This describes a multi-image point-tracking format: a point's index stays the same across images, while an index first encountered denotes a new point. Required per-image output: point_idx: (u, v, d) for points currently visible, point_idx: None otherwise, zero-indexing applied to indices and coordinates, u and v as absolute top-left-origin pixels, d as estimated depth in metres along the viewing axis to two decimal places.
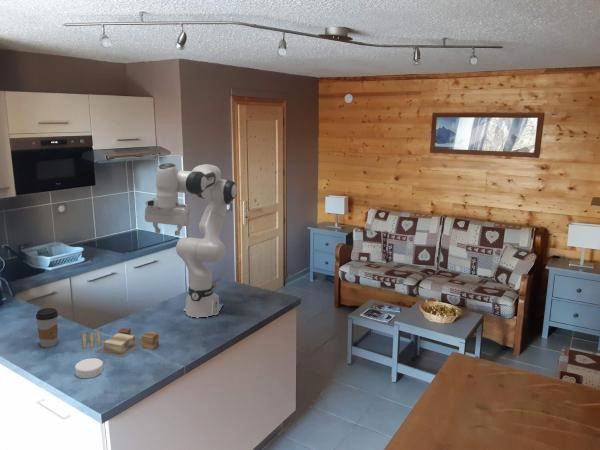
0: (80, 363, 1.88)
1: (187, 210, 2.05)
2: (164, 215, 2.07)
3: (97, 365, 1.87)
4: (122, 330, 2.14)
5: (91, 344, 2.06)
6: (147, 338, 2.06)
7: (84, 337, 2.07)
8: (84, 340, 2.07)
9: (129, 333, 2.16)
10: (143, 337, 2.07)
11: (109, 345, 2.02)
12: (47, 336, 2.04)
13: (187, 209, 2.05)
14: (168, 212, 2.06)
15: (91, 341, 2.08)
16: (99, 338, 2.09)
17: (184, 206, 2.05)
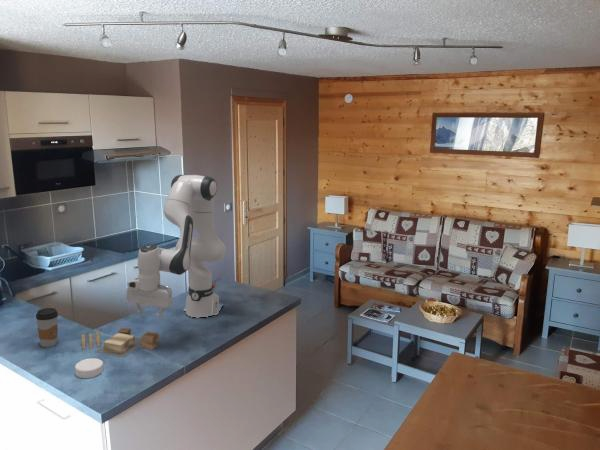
0: (80, 363, 1.88)
1: (169, 292, 2.01)
2: (146, 296, 2.03)
3: (97, 365, 1.87)
4: (122, 330, 2.14)
5: (90, 345, 2.05)
6: (147, 338, 2.06)
7: (83, 338, 2.07)
8: (83, 341, 2.06)
9: (129, 333, 2.16)
10: (143, 337, 2.07)
11: (109, 345, 2.02)
12: (47, 336, 2.04)
13: (169, 291, 2.01)
14: (150, 294, 2.03)
15: (90, 342, 2.07)
16: (98, 339, 2.09)
17: (166, 288, 2.01)
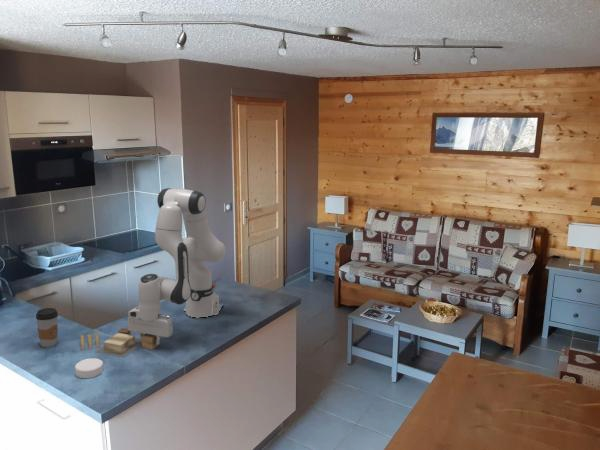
0: (80, 363, 1.88)
1: (169, 322, 2.04)
2: (147, 325, 2.06)
3: (97, 365, 1.87)
4: (122, 330, 2.14)
5: (90, 345, 2.05)
6: (147, 338, 2.06)
7: (82, 339, 2.06)
8: (82, 342, 2.06)
9: (129, 333, 2.16)
10: (143, 337, 2.07)
11: (109, 345, 2.02)
12: (47, 336, 2.04)
13: (169, 321, 2.04)
14: (150, 323, 2.05)
15: (89, 342, 2.07)
16: (97, 339, 2.08)
17: (166, 318, 2.04)
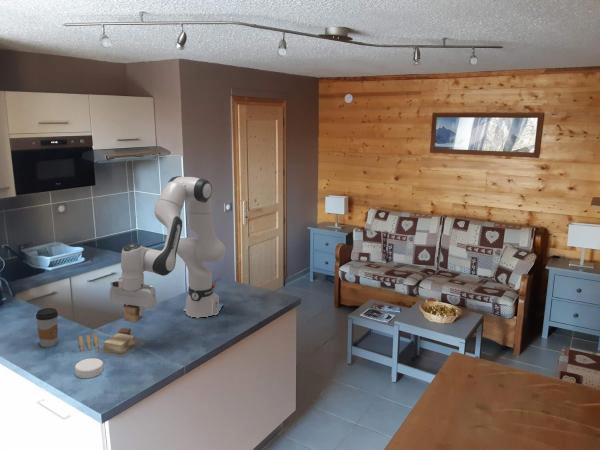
0: (80, 363, 1.88)
1: (153, 292, 2.00)
2: (129, 296, 2.02)
3: (97, 365, 1.87)
4: (122, 330, 2.14)
5: (89, 346, 2.04)
6: (130, 309, 2.02)
7: (81, 340, 2.05)
8: (81, 343, 2.05)
9: (129, 333, 2.16)
10: (126, 308, 2.02)
11: (109, 345, 2.02)
12: (47, 336, 2.04)
13: (153, 291, 2.00)
14: (133, 293, 2.01)
15: (88, 343, 2.06)
16: (96, 340, 2.08)
17: (150, 288, 2.00)
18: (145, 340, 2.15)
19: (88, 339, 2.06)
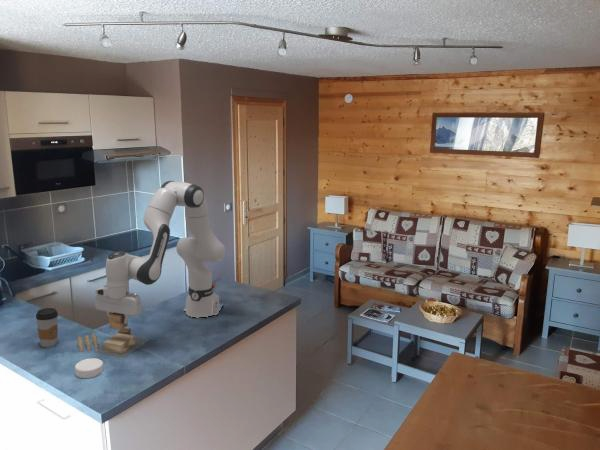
0: (80, 363, 1.88)
1: (137, 300, 1.99)
2: (114, 304, 2.01)
3: (97, 365, 1.87)
4: (122, 330, 2.14)
5: (88, 347, 2.03)
6: (115, 317, 2.01)
7: (80, 340, 2.04)
8: (80, 343, 2.04)
9: (129, 333, 2.16)
10: (111, 316, 2.02)
11: (109, 345, 2.02)
12: (47, 336, 2.04)
13: (137, 299, 1.99)
14: (118, 301, 2.00)
15: (87, 344, 2.05)
16: (95, 340, 2.07)
17: (134, 296, 1.99)
18: (145, 340, 2.15)
19: (87, 340, 2.06)
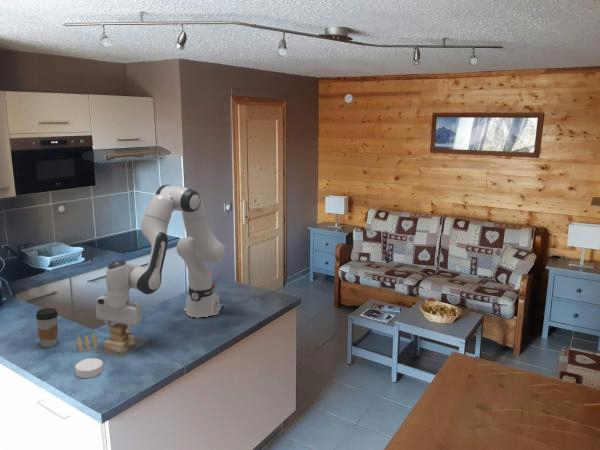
0: (80, 363, 1.88)
1: (138, 309, 2.00)
2: (115, 313, 2.02)
3: (97, 365, 1.87)
4: None
5: (88, 347, 2.03)
6: (116, 329, 2.03)
7: (79, 341, 2.04)
8: (80, 344, 2.04)
9: (129, 333, 2.16)
10: (112, 328, 2.03)
11: (109, 345, 2.02)
12: (47, 336, 2.04)
13: (138, 308, 2.00)
14: (119, 310, 2.01)
15: (87, 344, 2.05)
16: (95, 341, 2.07)
17: (135, 305, 2.00)
18: (145, 340, 2.15)
19: (87, 340, 2.05)
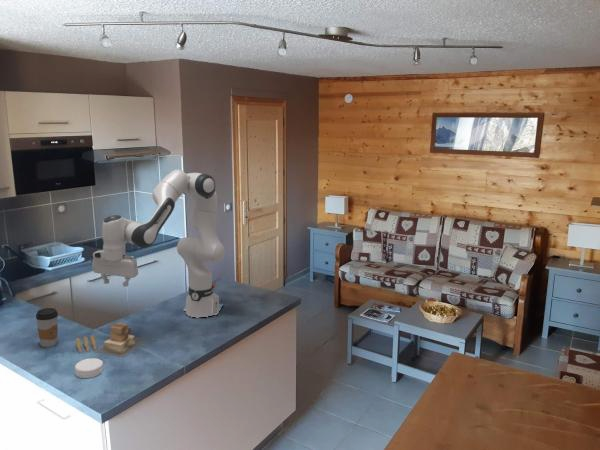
0: (80, 363, 1.88)
1: (134, 262, 2.05)
2: (111, 267, 2.06)
3: (97, 365, 1.87)
4: None
5: (87, 348, 2.02)
6: (116, 329, 2.03)
7: (79, 341, 2.03)
8: (79, 345, 2.03)
9: (129, 333, 2.16)
10: (112, 328, 2.03)
11: (109, 345, 2.02)
12: (47, 336, 2.04)
13: (134, 261, 2.04)
14: (115, 264, 2.06)
15: (86, 345, 2.04)
16: (94, 341, 2.06)
17: (131, 258, 2.04)
18: (145, 340, 2.15)
19: (86, 341, 2.05)
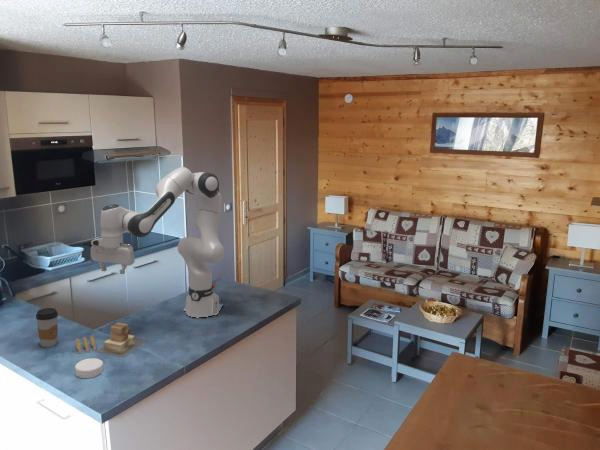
0: (80, 363, 1.88)
1: (131, 250, 2.10)
2: (109, 254, 2.12)
3: (97, 365, 1.87)
4: None
5: (87, 348, 2.02)
6: (116, 329, 2.03)
7: (78, 342, 2.03)
8: (78, 345, 2.02)
9: (129, 333, 2.16)
10: (112, 328, 2.03)
11: (109, 345, 2.02)
12: (47, 336, 2.04)
13: (131, 249, 2.10)
14: (113, 251, 2.11)
15: (85, 346, 2.04)
16: (93, 342, 2.06)
17: (128, 246, 2.10)
18: (145, 340, 2.15)
19: (85, 341, 2.04)
